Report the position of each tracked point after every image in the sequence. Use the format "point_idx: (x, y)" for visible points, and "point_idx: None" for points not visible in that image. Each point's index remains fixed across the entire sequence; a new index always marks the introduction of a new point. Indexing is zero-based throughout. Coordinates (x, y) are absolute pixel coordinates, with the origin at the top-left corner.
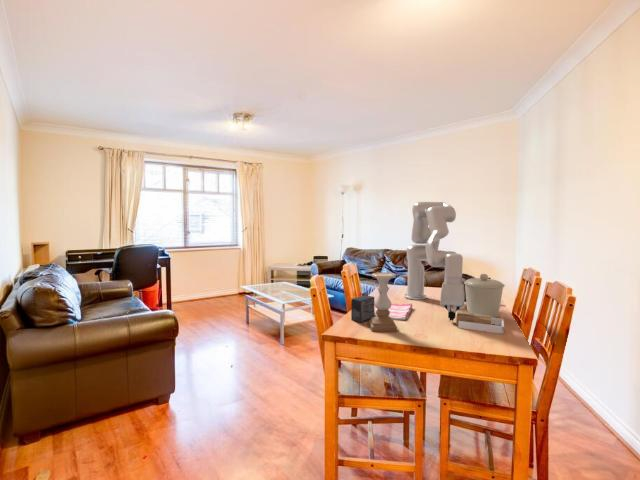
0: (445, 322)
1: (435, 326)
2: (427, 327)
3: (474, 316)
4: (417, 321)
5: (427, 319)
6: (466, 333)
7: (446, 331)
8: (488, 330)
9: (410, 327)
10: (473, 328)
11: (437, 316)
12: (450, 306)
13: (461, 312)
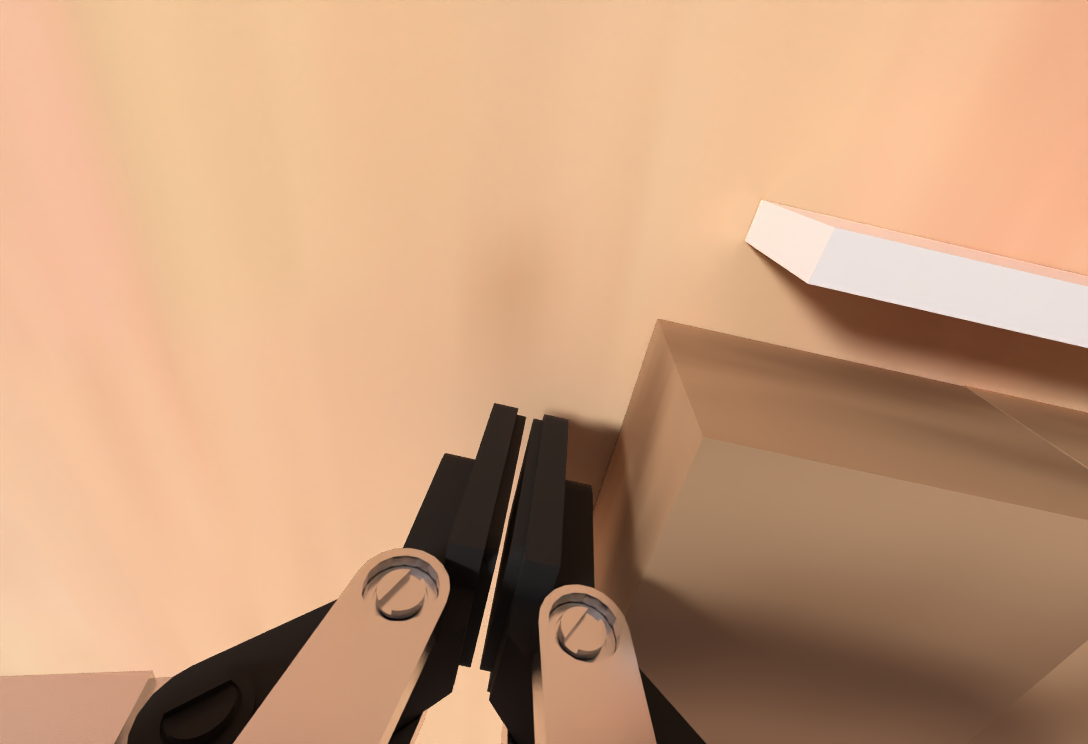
0: (421, 432)
1: (302, 606)
2: (223, 643)
3: (1013, 706)
4: (7, 464)
5: (92, 329)
6: None
7: (441, 715)
8: None
9: (59, 661)
10: None
11: (202, 7)
12: (387, 738)
13: (801, 488)
